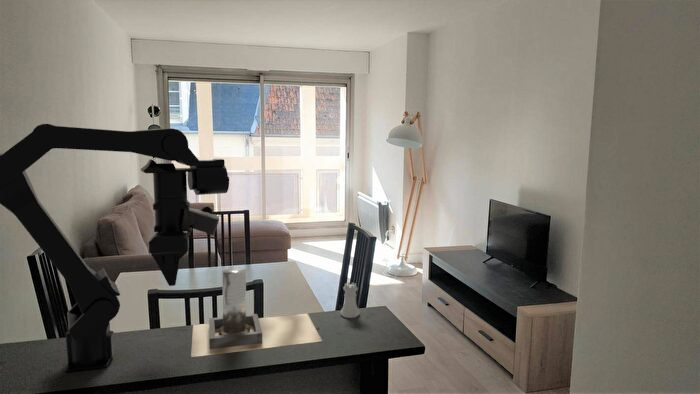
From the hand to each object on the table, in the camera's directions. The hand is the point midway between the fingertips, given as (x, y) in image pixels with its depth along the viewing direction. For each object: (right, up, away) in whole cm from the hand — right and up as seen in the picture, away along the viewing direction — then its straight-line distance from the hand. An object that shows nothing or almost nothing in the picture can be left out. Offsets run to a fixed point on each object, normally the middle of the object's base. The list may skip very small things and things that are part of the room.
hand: (174, 277), depth 87 cm
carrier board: (+15, -13, +4) cm, 20 cm away
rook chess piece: (+34, -12, +14) cm, 38 cm away
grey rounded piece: (+11, -12, +3) cm, 16 cm away
